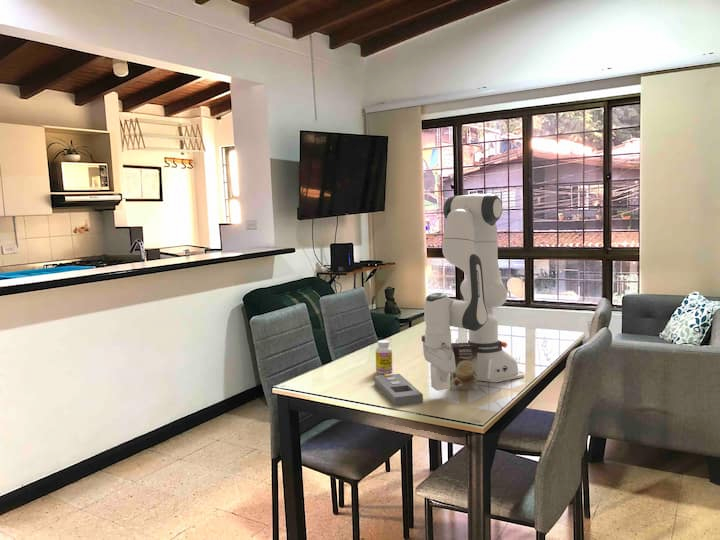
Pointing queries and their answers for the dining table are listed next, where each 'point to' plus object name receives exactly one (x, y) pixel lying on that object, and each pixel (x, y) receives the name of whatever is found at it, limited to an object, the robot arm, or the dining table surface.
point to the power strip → (398, 389)
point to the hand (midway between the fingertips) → (440, 378)
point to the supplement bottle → (383, 357)
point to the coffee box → (464, 366)
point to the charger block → (438, 379)
